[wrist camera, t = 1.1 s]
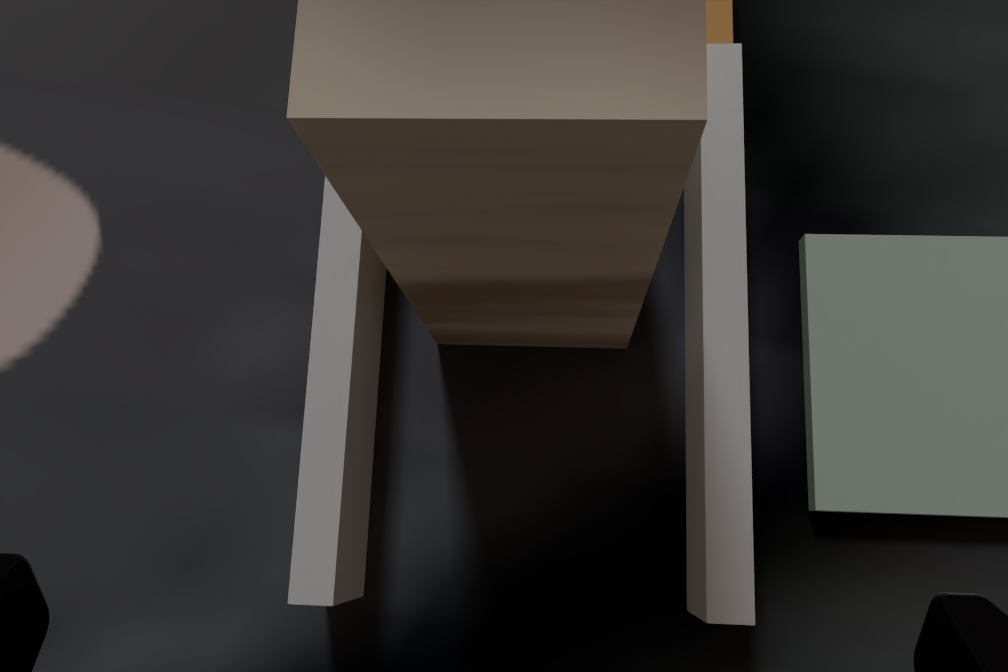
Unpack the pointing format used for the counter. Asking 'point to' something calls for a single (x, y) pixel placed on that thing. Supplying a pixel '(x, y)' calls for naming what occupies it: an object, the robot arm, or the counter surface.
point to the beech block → (507, 152)
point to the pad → (906, 373)
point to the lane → (708, 383)
